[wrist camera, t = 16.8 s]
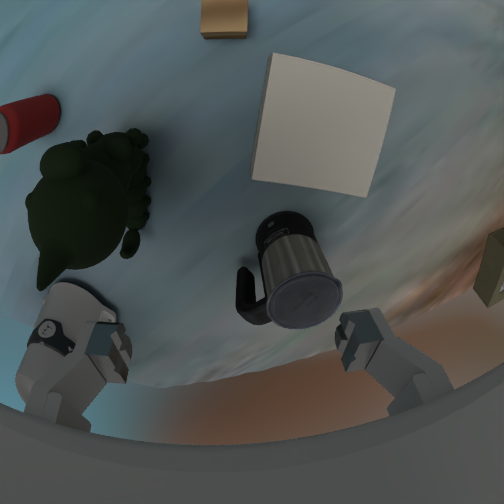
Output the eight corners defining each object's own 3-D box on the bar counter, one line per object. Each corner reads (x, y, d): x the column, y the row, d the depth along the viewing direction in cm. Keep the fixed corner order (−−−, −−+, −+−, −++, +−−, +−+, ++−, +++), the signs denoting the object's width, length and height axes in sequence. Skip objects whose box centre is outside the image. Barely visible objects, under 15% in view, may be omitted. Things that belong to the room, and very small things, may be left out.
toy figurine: (170, 111, 31) (63, 171, 10) (169, 235, 42) (126, 381, 21) (105, 114, 30) (-33, 182, 9) (114, 232, 40) (46, 361, 20)
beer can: (53, 85, 25) (0, 96, 16) (67, 120, 29) (16, 141, 19) (26, 109, 26) (-25, 128, 17) (40, 142, 30) (-9, 169, 20)
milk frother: (281, 198, 39) (304, 259, 27) (350, 249, 45) (385, 311, 33) (226, 264, 45) (225, 335, 33) (296, 301, 51) (312, 366, 39)
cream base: (355, 187, 39) (366, 197, 35) (250, 169, 36) (251, 179, 33) (381, 87, 30) (395, 89, 26) (268, 56, 28) (273, 52, 24)
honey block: (245, 38, 26) (247, 31, 22) (205, 39, 26) (200, 32, 22) (246, 6, 23) (248, -6, 19) (206, 7, 23) (201, -5, 19)
